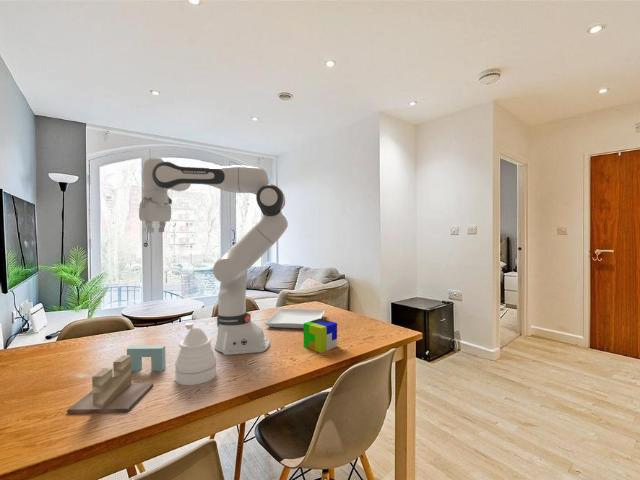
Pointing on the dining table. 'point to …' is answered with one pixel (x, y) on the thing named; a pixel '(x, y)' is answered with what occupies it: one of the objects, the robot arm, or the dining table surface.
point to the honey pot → (195, 358)
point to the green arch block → (147, 351)
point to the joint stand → (112, 390)
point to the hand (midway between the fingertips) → (156, 232)
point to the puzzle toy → (320, 335)
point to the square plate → (293, 317)
